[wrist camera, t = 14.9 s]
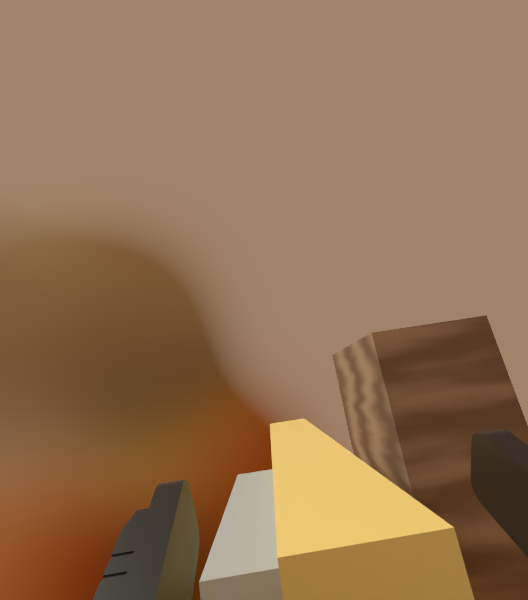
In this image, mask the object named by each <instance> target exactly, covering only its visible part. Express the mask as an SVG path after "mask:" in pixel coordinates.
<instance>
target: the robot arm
mask: <svg viewBox="0 0 528 600" xmlns="http://www.w3.org/2000/svg"><path fill="white" fill-rule="evenodd" d="M471 484H472V487H473V490H474V492H475V495H476V497H477V498H478V500H479V501H480V503H481V504H482V506H483V507H484V508H485V509H486V510H487V511H488V512H489V514H490V515H491V516H492V517H493V518H494V519H495V521H496V522H497V523H498V524H499V525H500V526H501V527H502V529H503V530H504V531H505V532H506V533H507V534H508V535H509V537H510V538H511V539H512V540H513V541H514V542H515V543H516V545H517V546H518V547H519V548H520V549H521V550H522V552H523V553H524V554H525V555H526V556H527V557H528V445H527V444H525V443H524V442H523V441H521V440H520V439H519V438H517V437H516V436H515V435H513V434H512V433H510V432H509V431H507V430H504V429H500V430H493V431H487V432H481V433H476V434H474V435H473V436H472V442H471ZM198 551H199V528H198V522H197V518H196V513H195V509H194V504H193V500H192V495H191V491H190V486H189V483H188V481H187V480H181V481H175V482H168V483H162V484H159V485H158V486H157V487H156V489H155V492H154V495H153V498H152V501H151V504H150V507H149V508H148V509H142V510H137V511H136V512H135V514H134V515H133V516H132V518H131V519H130V520H129V522H128V523H127V524H126V525H125V527H124V528H123V529H122V531H121V533H120V535H119V538H118V540H117V543H116V545H115V547H114V550H113V552H112V557H111V559H110V560H109V562H108V564H107V567H106V569H105V572H104V574H103V580H102V581H101V582H100V584H99V586H98V589H97V591H96V594H95V596H94V599H93V600H192V594H193V587H194V579H195V573H196V565H197V559H198Z"/></svg>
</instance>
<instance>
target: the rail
mask: <svg viewBox="0 0 528 600" xmlns="http://www.w3.org/2000/svg"><path fill="white" fill-rule="evenodd" d="M270 432H271V451H272V470H273V488H274V506H275V524H276V542H277V559H278V566H279V574H280V581H281V589H282V596H283V600H474V596H473V593H472V589H471V586H470V582H469V578H468V575H467V571H466V568H465V564H464V561H463V557H462V554H461V550H460V547H459V543H458V539H457V536H456V532H455V529H454V527H453V526H451V525H450V524H449V523H447V522H446V521H445V520H443V519H442V518H440V517H439V516H438V515H436V514H435V513H434V512H432V511H431V510H429V509H428V508H427V507H425V506H424V505H422V504H421V503H420V502H418V501H417V500H416V499H414V498H413V497H411V496H410V495H409V494H407V493H406V492H405V491H403V490H402V489H400V488H399V487H398V486H396V485H395V484H394V483H392V482H391V481H389V480H388V479H387V478H385V477H384V476H383V475H381V474H380V473H378V472H377V471H376V470H374V469H373V468H372V467H370V466H369V465H367V464H366V463H365V462H363V461H362V460H361V459H359V458H358V457H356V456H355V455H354V454H352V453H351V452H349V451H348V450H347V449H345V448H344V447H343V446H341V445H340V444H338V443H337V442H336V441H334V440H333V439H332V438H330V437H329V436H327V435H326V434H325V433H323V432H322V431H321V430H319V429H317V428H316V427H315V426H314V425H312V424H311V423H309V422H308V421H307V420H305V419H298V420H292V421H286V422H280V423H273V424H270Z"/></svg>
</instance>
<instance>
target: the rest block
mask: <svg viewBox="0 0 528 600" xmlns="http://www.w3.org/2000/svg"><path fill="white" fill-rule="evenodd" d="M199 585H200V599H201V600H283V596H282V589H281V581H280V574H279V566H278V559H277V542H276V524H275V506H274V488H273V470H272V469H271V470H264V471H258V472H253V473H247V474H240V475H238V476H237V479H236V482H235V484H234V487H233V490H232V493H231V495H230V498H229V501H228V504H227V507H226V510H225V513H224V515H223V518H222V520H221V523H220V526H219V529H218V532H217V534H216V537H215V540H214V543H213V545H212V548H211V551H210V554H209V556H208V559H207V562H206V565H205V568H204V570H203V573H202V576H201V579H200V582H199Z"/></svg>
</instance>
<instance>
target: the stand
mask: <svg viewBox="0 0 528 600" xmlns="http://www.w3.org/2000/svg"><path fill="white" fill-rule="evenodd" d="M333 359H334V364H335V368H336V373H337V378H338V383H339V388H340V392H341V397H342V402H343V406H344V411H345V416H346V420H347V425H348V430H349V434H350V439H351V444H352V448H353V453H354V455H355V456H356V457H358V458H359V459H361V460H362V461H363V462H365V463H366V464H367V465H369V466H370V467H372V468H373V469H374V470H376V471H377V472H378V473H380V474H381V475H383V476H384V477H385V478H387V479H388V480H389V481H391V482H392V483H394V484H395V485H396V486H398V487H399V488H400V489H402V490H403V491H405V492H406V493H407V494H409V495H410V496H411V497H413V498H414V499H416V500H417V501H418V502H420V503H421V504H422V505H424V506H425V507H427V508H428V509H429V510H431V511H432V512H434V513H435V514H436V515H438V516H439V517H440V518H442V519H443V520H445V521H446V522H447V523H449V524H450V525H451V526H453V527H454V529H455V532H456V536H457V539H458V543H459V547H460V550H461V554H462V557H463V561H464V564H465V568H466V571H467V575H468V578H469V582H470V586H471V589H472V593H473V596H474V600H528V557H527V556H526V555H525V554H524V553H523V552H522V550H521V549H520V548H519V547H518V546H517V545H516V543H515V542H514V541H513V540H512V539H511V538H510V537H509V535H508V534H507V533H506V532H505V531H504V530H503V529H502V527H501V526H500V525H499V524H498V523H497V522H496V521H495V519H494V518H493V517H492V516H491V515H490V514H489V512H488V511H487V510H486V509H485V508H484V507H483V506H482V504H481V503H480V501H479V500H478V498H477V497H476V495H475V492H474V490H473V487H472V484H471V442H472V436H473V435H474V434H476V433H481V432H487V431H493V430H500V429H504V430H507V431H509V432H510V433H512V434H513V435H515V436H516V437H517V438H519V439H520V440H521V441H523V442H524V443H525V444H527V445H528V426H527V423H526V421H525V418H524V415H523V413H522V410H521V407H520V404H519V402H518V399H517V396H516V394H515V391H514V388H513V386H512V383H511V380H510V378H509V375H508V372H507V370H506V367H505V364H504V362H503V359H502V356H501V353H500V351H499V348H498V346H497V343H496V340H495V338H494V335H493V332H492V329H491V327H490V324H489V321H488V319H487V316H480V317H474V318H467V319H461V320H454V321H447V322H440V323H434V324H428V325H421V326H414V327H407V328H400V329H394V330H387V331H381V332H374V333H370V334H369V335H367V336H365V337H364V338H362V339H360V340H358V341H357V342H355V343H353V344H351V345H350V346H348V347H346V348H344V349H343V350H341V351H339V352H337V353H336V354H334V355H333Z"/></svg>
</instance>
